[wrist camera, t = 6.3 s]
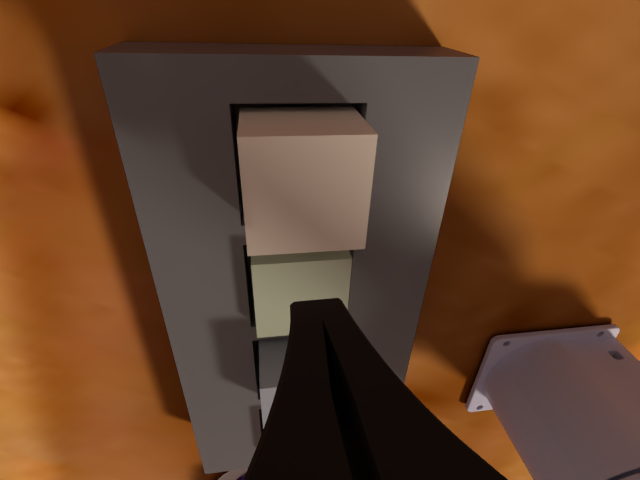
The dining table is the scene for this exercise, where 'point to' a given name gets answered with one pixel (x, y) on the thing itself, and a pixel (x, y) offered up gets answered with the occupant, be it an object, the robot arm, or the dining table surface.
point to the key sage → (296, 285)
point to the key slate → (270, 371)
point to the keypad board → (227, 205)
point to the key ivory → (305, 178)
